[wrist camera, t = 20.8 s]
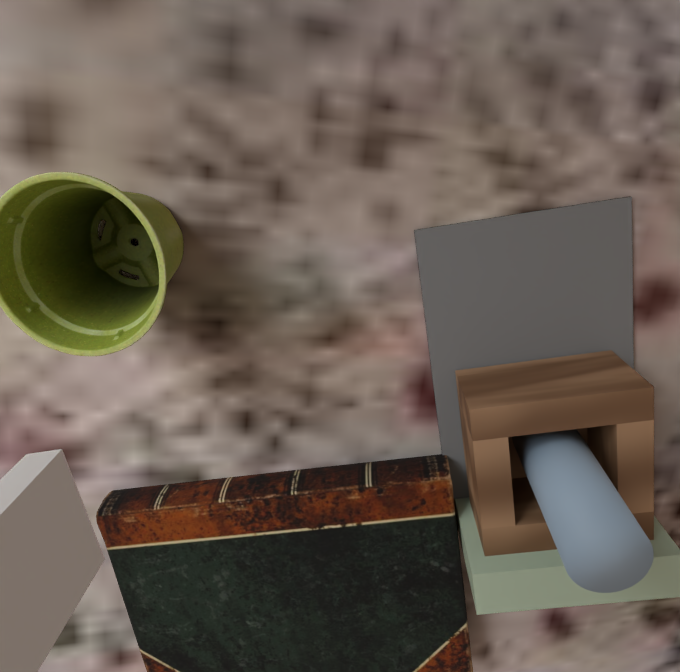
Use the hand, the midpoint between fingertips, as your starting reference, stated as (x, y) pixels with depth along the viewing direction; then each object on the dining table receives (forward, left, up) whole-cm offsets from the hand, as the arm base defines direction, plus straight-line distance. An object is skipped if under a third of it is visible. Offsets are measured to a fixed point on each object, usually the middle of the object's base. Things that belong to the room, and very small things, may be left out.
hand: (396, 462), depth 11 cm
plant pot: (-2, -15, -27) cm, 31 cm away
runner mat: (+9, +9, -27) cm, 30 cm away
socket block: (+14, +9, -27) cm, 31 cm away
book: (+24, -10, -27) cm, 38 cm away
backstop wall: (+21, +9, -27) cm, 35 cm away
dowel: (+14, +9, -25) cm, 30 cm away
